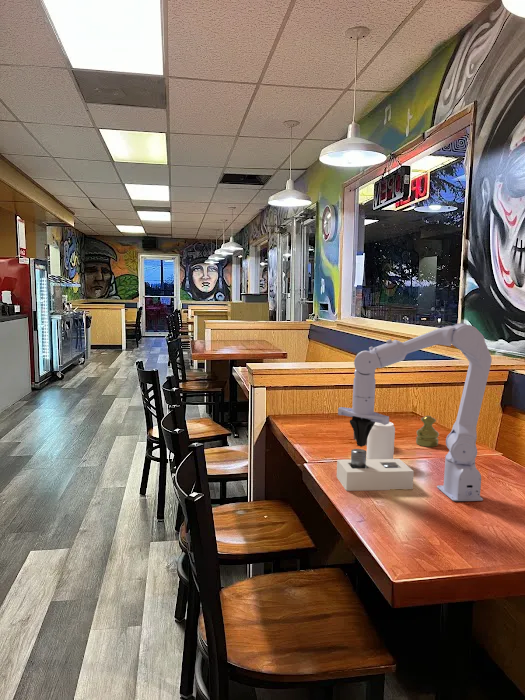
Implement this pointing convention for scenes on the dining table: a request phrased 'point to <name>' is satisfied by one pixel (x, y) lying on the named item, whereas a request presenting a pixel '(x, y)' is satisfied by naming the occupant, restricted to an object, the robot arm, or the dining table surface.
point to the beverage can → (381, 441)
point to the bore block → (375, 475)
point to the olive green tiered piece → (427, 433)
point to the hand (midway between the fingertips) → (361, 445)
